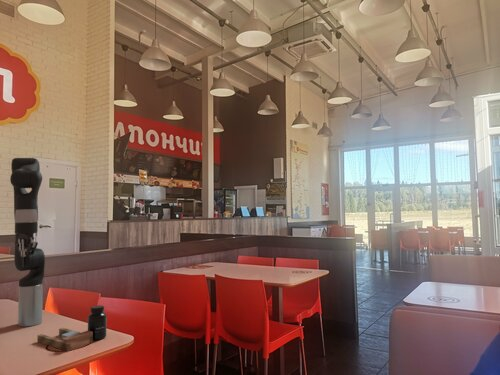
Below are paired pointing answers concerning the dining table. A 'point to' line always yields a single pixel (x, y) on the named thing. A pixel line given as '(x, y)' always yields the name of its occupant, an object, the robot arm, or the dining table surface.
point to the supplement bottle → (97, 322)
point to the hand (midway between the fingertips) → (25, 266)
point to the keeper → (69, 334)
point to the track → (67, 340)
